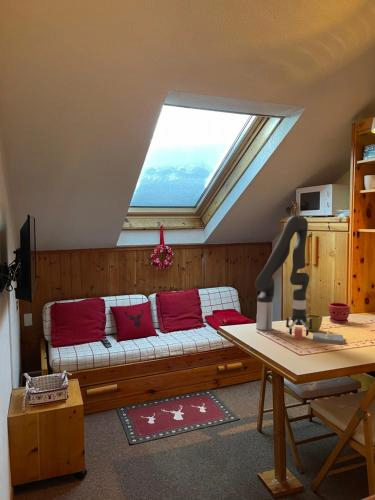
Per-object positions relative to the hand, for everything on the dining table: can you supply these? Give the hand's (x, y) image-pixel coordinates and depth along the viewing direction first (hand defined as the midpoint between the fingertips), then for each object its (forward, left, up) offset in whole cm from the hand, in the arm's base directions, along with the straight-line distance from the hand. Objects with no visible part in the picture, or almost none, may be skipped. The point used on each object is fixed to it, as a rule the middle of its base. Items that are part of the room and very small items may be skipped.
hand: (298, 335), depth 229 cm
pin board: (+16, 0, -1) cm, 16 cm away
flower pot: (+8, +19, -2) cm, 20 cm away
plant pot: (+24, +46, -2) cm, 52 cm away
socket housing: (0, 0, -1) cm, 1 cm away
